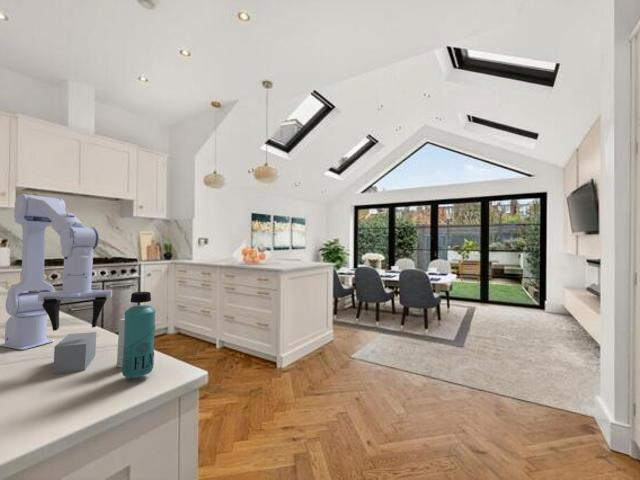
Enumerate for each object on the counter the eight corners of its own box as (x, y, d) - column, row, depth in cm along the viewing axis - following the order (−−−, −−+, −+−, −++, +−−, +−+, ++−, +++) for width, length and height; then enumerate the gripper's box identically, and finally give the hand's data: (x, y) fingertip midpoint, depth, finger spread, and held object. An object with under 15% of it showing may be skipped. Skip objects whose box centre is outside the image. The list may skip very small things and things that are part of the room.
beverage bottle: (129, 387, 65) (134, 295, 66) (115, 379, 69) (119, 292, 69) (159, 376, 71) (163, 292, 71) (144, 369, 74) (147, 289, 75)
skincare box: (130, 369, 74) (132, 320, 75) (116, 367, 75) (118, 319, 75) (149, 360, 80) (151, 315, 81) (135, 358, 81) (137, 314, 81)
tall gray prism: (67, 358, 80) (68, 334, 80) (95, 355, 82) (96, 332, 82) (53, 374, 70) (54, 346, 70) (84, 370, 73) (86, 343, 73)
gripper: (34, 276, 69) (31, 335, 69) (110, 275, 76) (108, 329, 76) (44, 273, 75) (41, 327, 75) (113, 272, 82) (111, 322, 82)
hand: (75, 328), depth 76 cm, fingers open, 7 cm apart
